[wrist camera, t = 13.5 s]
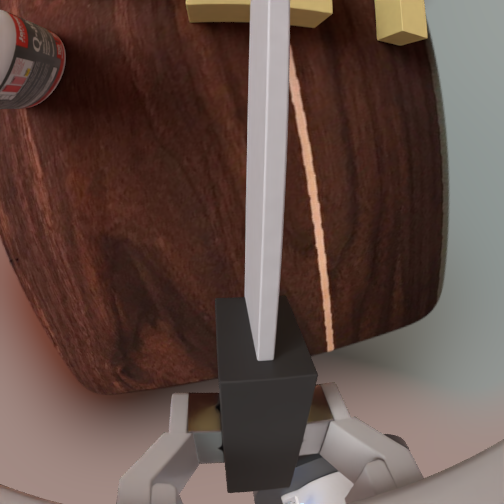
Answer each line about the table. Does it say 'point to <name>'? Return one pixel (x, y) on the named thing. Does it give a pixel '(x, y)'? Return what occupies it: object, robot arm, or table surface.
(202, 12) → the butter stick
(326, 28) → the table surface
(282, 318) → the knife
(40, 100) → the pill bottle
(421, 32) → the butter slice
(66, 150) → the table surface
